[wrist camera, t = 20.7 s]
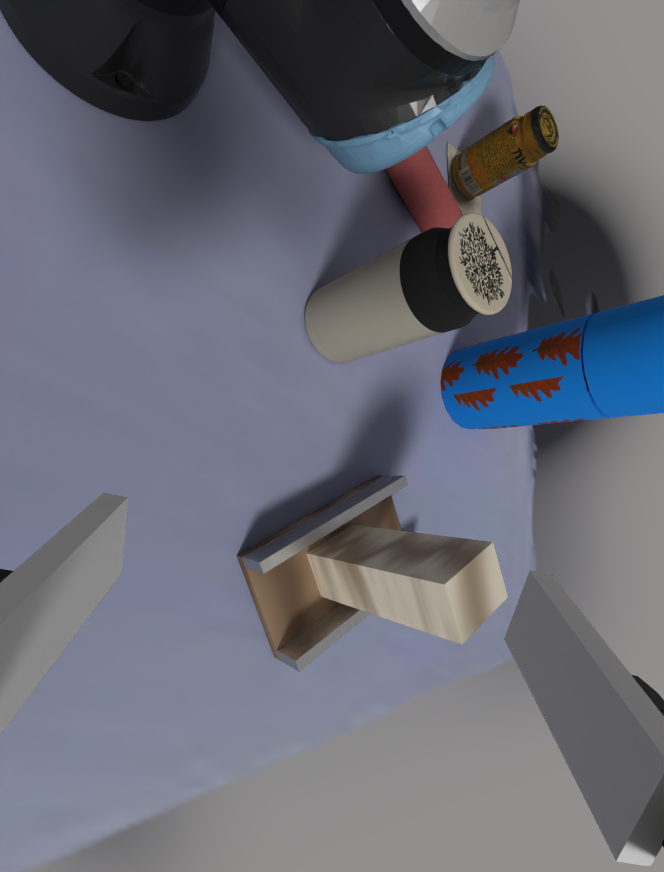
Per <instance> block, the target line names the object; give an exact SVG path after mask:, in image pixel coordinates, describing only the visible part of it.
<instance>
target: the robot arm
mask: <svg viewBox="0 0 664 872" xmlns="http://www.w3.org/2000/svg"><path fill="white" fill-rule="evenodd" d="M519 1H520V0H0V10H1V12H2V14H3V16H4V18H5V20H6V21H7V23H8V25H9V26H10V28H11V30H12V31H13V33H14V34H15V36H16V37H17V39H18V40H19V41H20V43H21V44H22V45H23V47H24V48H25V49H26V50H27V52H28V53H29V54H30V55H31V56H32V57H33V59H34V60H35V61H36V62H37V63H38V64H39V65H40V66H41V67H42V68H43V69H44V70H45V71H46V72H47V73H48V74H49V75H51V76H52V77H53V78H54V79H55V80H56V81H58V82H59V83H60V84H61V85H63V86H64V87H65V88H66V89H68V90H69V91H71V92H72V93H73V94H75V95H77V96H78V97H80V98H81V99H83V100H85V101H86V102H88V103H90V104H92V105H94V106H96V107H97V108H100V109H102V110H104V111H106V112H109V113H112V114H114V115H117V116H121V117H124V118H128V119H134V120H141V121H156V120H162V119H166V118H170V117H172V116H174V115H177V114H178V113H180V112H181V111H183V110H184V109H185V108H186V107H187V106H188V105H189V104H190V103H191V101H192V100H193V98H194V97H195V95H196V93H197V91H198V90H199V88H200V86H201V85H202V83H203V81H204V79H205V76H206V73H207V70H208V66H209V61H210V51H211V44H212V35H213V26H214V17H215V11H216V12H217V13H218V14H219V15H220V17H221V18H222V20H224V22H225V23H226V24H227V26H228V27H229V28H230V29H231V31H232V32H233V33H234V35H235V36H236V37H237V38H238V40H239V41H240V42H241V44H242V45H243V46H244V47H245V49H246V50H247V51H248V53H249V54H250V55H251V56H252V58H253V59H254V60H255V62H256V63H257V64H258V65H259V67H260V68H261V69H262V70H263V72H264V73H265V74H266V76H267V77H268V78H269V79H270V81H271V82H272V83H273V85H274V86H275V87H276V88H277V90H278V91H279V92H280V94H281V95H282V96H283V97H284V99H285V100H286V101H287V103H288V104H289V105H290V106H291V108H292V109H293V110H294V112H295V113H296V114H297V115H298V117H299V118H300V119H301V120H302V122H303V123H304V124H305V126H306V127H307V128H308V129H309V133H310V134H311V135H312V136H313V137H314V139H315V140H316V141H318V142H319V143H321V144H323V145H324V147H325V148H326V149H327V150H328V151H329V152H330V153H331V154H332V155H333V156H334V158H335V159H336V160H337V161H338V162H339V163H340V164H341V165H342V166H343V167H344V168H346V169H347V170H349V171H351V172H354V173H359V174H370V173H375V172H379V171H382V170H384V169H387V168H389V167H391V166H394V165H396V164H398V163H400V162H402V161H403V160H405V159H407V158H409V157H410V156H412V155H414V154H415V153H417V152H418V151H420V150H421V149H423V148H424V147H426V146H427V145H428V144H430V143H431V142H432V141H433V139H434V138H435V136H436V135H437V134H438V133H439V132H441V131H443V130H445V129H448V128H449V127H450V126H452V125H453V124H454V123H455V122H456V121H458V120H459V119H460V118H461V117H462V116H463V115H464V114H465V113H466V112H467V111H468V110H469V109H470V108H471V107H472V106H473V105H474V103H475V102H476V101H477V100H478V99H479V97H480V96H481V95H482V93H483V92H484V91H485V89H486V88H487V86H488V84H489V82H490V81H491V78H492V76H493V73H494V67H495V62H494V58H493V57H494V54H495V53H496V52H497V51H498V50H500V49H501V47H502V46H503V45H504V44H505V43H506V42H507V40H508V38H509V36H510V34H511V32H512V29H513V26H514V23H515V19H516V14H517V10H518V6H519ZM127 506H128V497H123V496H118V495H112V494H107V493H103V494H102V495H100V496H99V497H98V498H97V499H96V500H95V501H94V502H92V503H91V504H90V505H89V506H88V507H87V508H86V509H84V510H83V511H82V512H81V513H80V514H79V515H78V516H76V517H75V518H74V519H73V520H72V521H71V522H69V523H68V524H67V525H66V526H65V527H64V528H63V529H61V530H60V531H59V532H58V533H57V534H56V535H55V536H53V537H52V538H51V539H50V540H49V541H48V542H47V543H45V544H44V545H43V546H42V547H41V548H40V549H38V550H37V551H36V552H35V553H34V554H33V555H32V556H30V557H29V558H28V559H27V560H26V561H25V562H24V563H22V564H21V565H20V566H19V567H18V568H17V569H16V570H14V571H9V570H3V569H0V734H1V733H2V732H3V730H4V729H5V728H6V726H7V725H8V724H9V722H10V721H11V720H12V718H13V717H14V716H15V714H16V713H17V712H18V710H19V709H20V708H21V706H22V705H23V704H24V702H25V701H26V700H27V698H28V697H29V696H30V694H31V693H32V692H33V690H34V689H35V688H36V686H37V685H38V684H39V682H40V681H41V680H42V678H43V677H44V676H45V674H46V673H47V672H48V670H49V669H50V668H51V666H52V665H53V664H54V662H55V661H56V660H57V658H58V657H59V656H60V654H61V653H62V652H63V650H64V649H65V648H66V646H67V645H68V644H69V642H70V641H71V640H72V638H73V637H74V636H75V634H76V633H77V632H78V631H79V629H80V628H81V627H82V625H83V624H84V623H85V621H86V620H87V619H88V617H89V616H90V615H91V613H92V612H93V611H94V609H95V608H96V607H97V605H98V604H99V603H100V601H101V600H102V599H103V597H104V596H105V595H106V593H107V592H108V591H109V589H110V588H111V587H112V585H113V584H114V583H115V581H116V580H117V579H118V577H119V576H120V575H121V573H122V564H123V552H124V541H125V529H126V517H127ZM504 640H505V642H506V644H507V645H508V647H509V649H510V651H511V653H512V655H513V657H514V659H515V661H516V663H517V665H518V667H519V669H520V671H521V673H522V675H523V677H524V679H525V681H526V683H527V685H528V687H529V689H530V691H531V693H532V695H533V697H534V699H535V701H536V703H537V705H538V707H539V709H540V711H541V713H542V715H543V717H544V719H545V721H546V723H547V725H548V727H549V729H550V731H551V733H552V735H553V737H554V739H555V741H556V743H557V745H558V747H559V749H560V751H561V753H562V755H563V757H564V759H565V761H566V763H567V765H568V767H569V769H570V771H571V772H572V775H573V777H574V778H575V781H576V782H577V784H578V786H579V788H580V790H581V792H582V794H583V796H584V798H585V800H586V802H587V804H588V806H589V808H590V810H591V812H592V814H593V816H594V818H595V820H596V822H597V824H598V826H599V828H600V830H601V832H602V834H603V836H604V838H605V840H606V842H607V844H608V846H609V848H610V850H611V852H612V854H613V856H614V858H615V860H616V861H618V862H625V863H631V864H639V865H645V866H651V864H652V863H653V861H654V859H655V857H656V856H657V854H658V852H659V851H660V849H661V847H662V845H663V847H664V700H663V699H662V698H661V696H660V695H659V694H658V693H657V692H656V691H655V690H654V689H652V688H651V687H650V686H649V685H648V684H646V683H645V682H644V681H643V680H642V679H640V678H639V677H638V676H634V675H631V674H630V673H629V672H628V670H627V669H626V668H625V667H624V665H623V664H622V663H621V662H620V660H619V659H618V658H617V656H616V655H615V654H614V653H613V651H612V650H611V649H610V648H609V646H608V645H607V644H606V643H605V641H604V640H603V639H602V638H601V636H600V635H599V634H598V632H597V631H596V630H595V629H594V627H593V626H592V625H591V624H590V622H589V621H588V620H587V618H586V617H585V616H584V615H583V614H582V612H581V611H580V610H579V608H578V607H577V606H576V605H575V603H574V602H573V601H572V599H571V598H570V597H569V596H568V594H566V592H565V591H564V589H563V588H562V587H561V586H560V585H559V583H558V582H557V580H556V579H555V578H554V577H553V575H551V574H546V573H540V572H535V571H529V574H528V576H527V579H526V582H525V585H524V587H523V590H522V593H521V595H520V598H519V601H518V603H517V606H516V609H515V611H514V614H513V617H512V619H511V622H510V625H509V628H508V630H507V633H506V636H505V638H504Z"/></svg>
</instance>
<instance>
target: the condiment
mask: <svg viewBox="0 0 664 872" xmlns="http://www.w3.org/2000/svg"><path fill="white" fill-rule="evenodd" d="M558 138H559V137H558V129H557V125H556V122H555V119H554V117H553V115H552V113H551V112H550V110H549V109H548V108H546V107H545V106H538V107H536V108H535V109H533V110H532V111H530V112H527V113H526V114H525V115H524V116H517V117H514V118H513V119H511V120H509V121H508V122H506V123H504V124H503V125H502V126H501V127H499V128H497V129H496V130H494V131H492V132H491V133H490V134H488V135H486V136H485V137H484V138H482V139H480V140H479V141H477V142H476V143H474V144H473V145H471V146H470V147H468V148H466V149H465V150H464V151H462V152H461V151H459V150H457V149H456V148H455V147H454V146H452V145H451V144H449V143H448V142H447V144H448V147H447V149H448V152H447V156H448V175H449V190H450V191H451V193H452V195H453V197H454V199H455V201H456V203H457V205H458V207H459V208H460V210H462V211H464V212H466V213H477V214H480V215H482V212H481V209H482V206H481V194H483V193H485V192H486V191H489V190H490V189H492V188H494V187H496V186H498V185H499V184H501V183H503V182H505V181H507V180H508V179H510V178H512V177H514V176H516V175H518V174H519V173H521V172H523V171H525V170H527V169H528V168H530V167H532V166H533V165H534V164H535V163H536V162H537V160H539V159H541V158H543V157H544V156H545V155H546V154H548V153H551V152H553V151H554V150H555V149H556V147H557V144H558ZM453 184H454V186H453ZM472 200H473V201H472ZM471 201H472V203H470V202H471Z"/></svg>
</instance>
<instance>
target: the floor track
mask: <svg viewBox="0 0 664 872" xmlns="http://www.w3.org/2000/svg"><path fill="white" fill-rule="evenodd" d="M406 485H408V483H407V480H406V477H405V476H377V477H375V478H373V479H371V480H370V481H368V482H366V483H364V484H362V485H361V486H359V487H357V488H355V489H354V490H352V491H350V492H348V493H347V494H345V495H343V496H341V497H340V498H338V499H336V500H334V501H333V502H331V503H329V504H327V505H325V506H324V507H322V508H320V509H318V510H317V511H315V512H313V513H311V514H310V515H308V516H306V517H304V518H303V519H301V520H299V521H297V522H296V523H294V524H292V525H290V526H288V527H287V528H285V529H283V530H281V531H280V532H278V533H276V534H274V535H273V536H271V537H269V538H267V539H266V540H264V541H262V542H260V543H259V544H257V545H255V546H253V547H252V548H250V549H248V550H246V551H244V552H243V553H241V554H239V555H237V558H238V560H239V563H240V566H241V568H242V571H243V574H244V576H245V579H246V582H247V584H248V587H249V590H250V593H251V595H252V598H253V601H254V603H255V606H256V609H257V611H258V614H259V617H260V620H261V622H262V625H263V628H264V630H265V633H266V636H267V638H268V641H269V644H270V646H271V649H272V652H273V655H274V657H275V658H277V659H279V660H280V661H282V662H284V663H285V664H287V665H289V666H290V667H292V668H294V669H296V670H297V671H299V672H300V671H301V670H302V669H303V668H304V667H306V666H307V665H308V664H309V663H311V662H312V661H313V660H314V659H315V658H317V657H318V656H319V655H320V654H322V653H323V652H324V651H325V650H327V649H328V648H329V647H330V646H331V645H333V644H334V643H335V642H336V641H338V640H339V639H340V638H341V637H342V636H344V635H345V634H346V633H347V632H349V631H350V630H351V629H352V628H354V627H355V626H356V625H357V624H358V623H360V622H361V621H362V620H363V619H365V618H366V617H367V616H368V615H369V614H371V613H368V612H365V611H362V610H359V609H356V608H353V607H350V606H347V605H344V604H342V603H339V602H336V601H333V600H330V599H327V598H324V597H321V594H320V592H319V589H318V586H317V583H316V580H315V577H314V574H313V571H312V568H311V565H310V562H309V559H308V556H307V554H306V553H308V552H309V551H311V550H313V549H314V548H316V547H317V546H319V545H321V544H322V543H324V542H325V541H327V540H329V539H330V538H332V537H333V536H335V535H337V534H338V533H340V532H341V531H343V530H345V529H346V528H348V527H349V526H351V525H359V526H367V527H375V528H383V529H391V530H399V531H402V530H401V527H400V524H399V521H398V517H397V514H396V511H395V508H394V504H393V501H392V498H391V495H392V494H393V493H395V492H397V491H398V490H400V489H402V488H403V487H405V486H406Z"/></svg>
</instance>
